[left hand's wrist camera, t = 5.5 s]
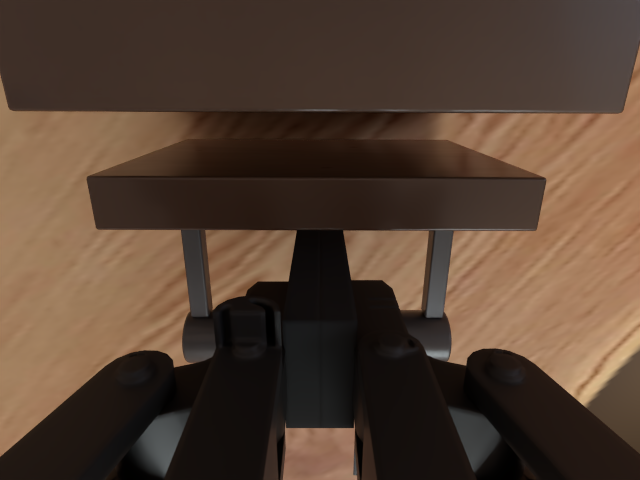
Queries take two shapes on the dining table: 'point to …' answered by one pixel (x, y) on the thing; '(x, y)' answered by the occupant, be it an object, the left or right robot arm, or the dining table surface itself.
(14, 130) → the dining table surface
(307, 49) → the cabinet
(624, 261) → the dining table surface
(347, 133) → the dining table surface
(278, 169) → the drawer
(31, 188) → the dining table surface
